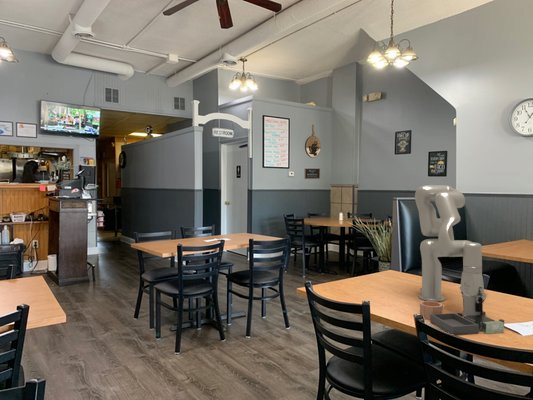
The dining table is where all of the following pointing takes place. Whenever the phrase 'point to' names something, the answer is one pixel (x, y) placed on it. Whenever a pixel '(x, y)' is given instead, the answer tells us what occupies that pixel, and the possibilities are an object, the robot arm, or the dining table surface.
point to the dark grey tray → (454, 323)
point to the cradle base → (490, 325)
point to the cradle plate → (478, 319)
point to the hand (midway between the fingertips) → (472, 308)
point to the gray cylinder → (469, 305)
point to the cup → (430, 308)
